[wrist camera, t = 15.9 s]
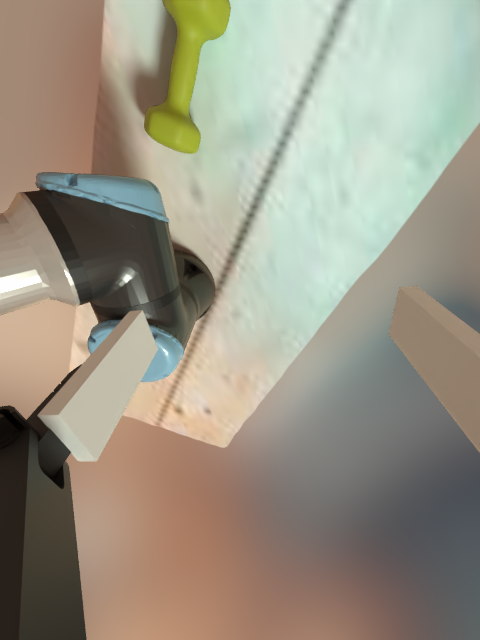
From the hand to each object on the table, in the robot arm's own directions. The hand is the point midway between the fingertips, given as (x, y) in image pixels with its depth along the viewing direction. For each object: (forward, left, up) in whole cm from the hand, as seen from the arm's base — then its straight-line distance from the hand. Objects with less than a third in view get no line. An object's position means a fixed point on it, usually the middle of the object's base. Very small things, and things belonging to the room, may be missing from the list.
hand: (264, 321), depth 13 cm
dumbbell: (-8, +18, -35) cm, 40 cm away
